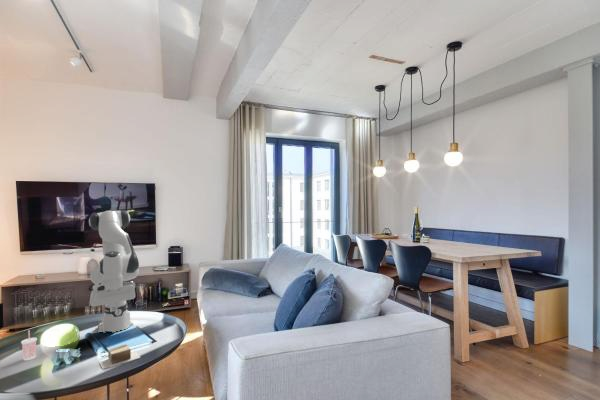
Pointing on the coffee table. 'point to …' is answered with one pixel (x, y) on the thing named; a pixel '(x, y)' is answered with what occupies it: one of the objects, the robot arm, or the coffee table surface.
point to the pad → (108, 364)
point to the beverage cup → (29, 347)
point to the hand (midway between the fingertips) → (113, 311)
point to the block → (119, 354)
